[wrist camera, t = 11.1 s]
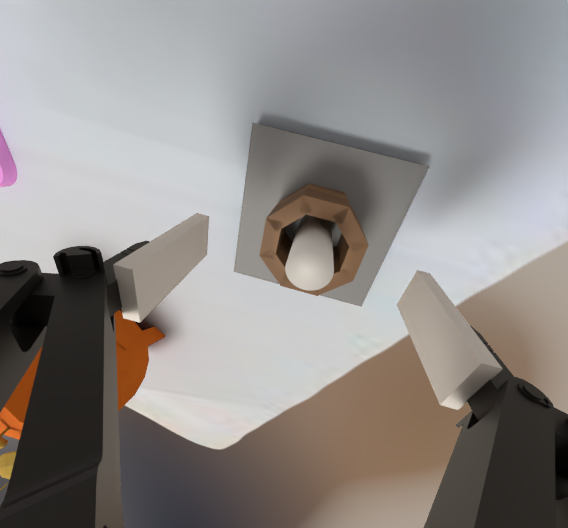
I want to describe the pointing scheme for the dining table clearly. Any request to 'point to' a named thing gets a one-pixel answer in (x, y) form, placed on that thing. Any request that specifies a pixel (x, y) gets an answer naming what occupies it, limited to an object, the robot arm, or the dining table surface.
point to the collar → (325, 207)
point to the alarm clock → (129, 378)
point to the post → (312, 230)
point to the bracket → (6, 165)
